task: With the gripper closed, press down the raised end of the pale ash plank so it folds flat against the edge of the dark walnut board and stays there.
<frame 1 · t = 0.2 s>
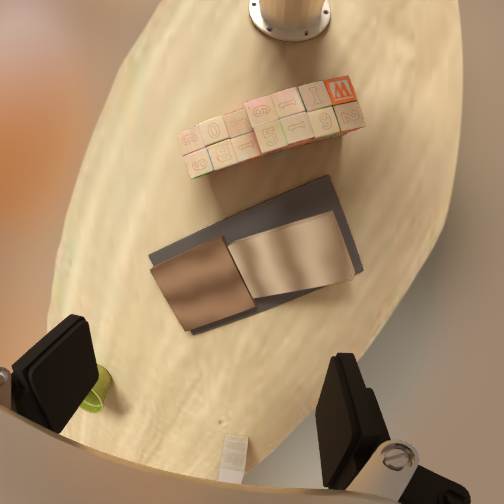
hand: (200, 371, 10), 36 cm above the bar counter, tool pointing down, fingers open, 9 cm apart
small box: (235, 443, 61), on the bar counter
laid board: (204, 283, 49), resting on underlay mat
plank: (289, 259, 42), point 5 cm above the bar counter, hinge at 25.0°
underlay mat: (254, 262, 47), on the bar counter
plant pot: (101, 373, 58), on the bar counter
stack of blocks: (268, 133, 42), on the bar counter
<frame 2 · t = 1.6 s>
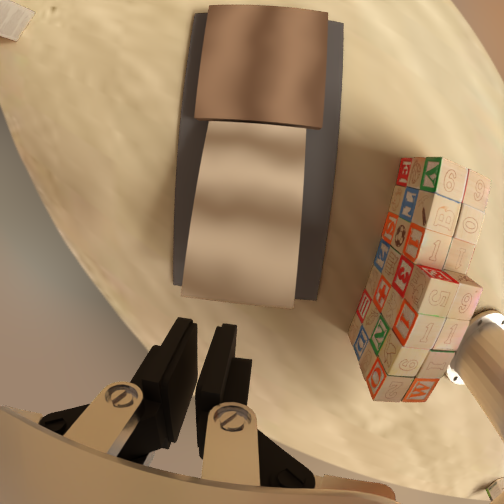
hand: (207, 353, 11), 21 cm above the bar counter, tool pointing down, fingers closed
small box: (18, 22, 25), on the bar counter
laid board: (263, 64, 26), resting on underlay mat
plank: (247, 208, 26), point 5 cm above the bar counter, hinge at 25.0°
underlay mat: (256, 147, 29), on the bar counter
stack of blocks: (398, 255, 31), on the bar counter
syrup box: (495, 482, 49), on the bar counter
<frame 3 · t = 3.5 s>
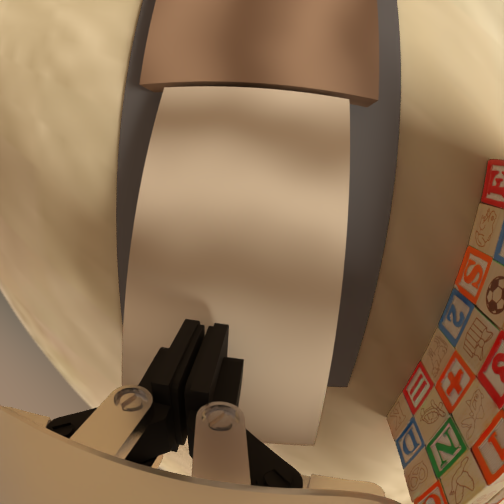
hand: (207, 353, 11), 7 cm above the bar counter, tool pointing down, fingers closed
plank: (235, 259, 13), point 4 cm above the bar counter, hinge at 19.8°, touching gripper
underlay mat: (254, 135, 16), on the bar counter
stack of blocks: (471, 310, 18), on the bar counter
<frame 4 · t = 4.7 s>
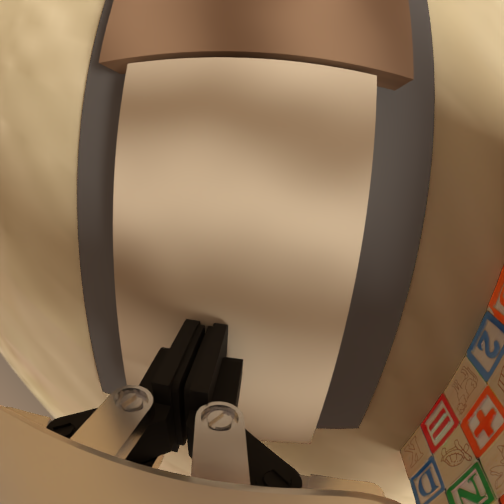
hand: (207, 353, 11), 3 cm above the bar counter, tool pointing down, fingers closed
plank: (230, 276, 12), point 2 cm above the bar counter, hinge at 1.5°, touching gripper
underlay mat: (248, 124, 12), on the bar counter
stack of blocks: (501, 334, 14), on the bar counter
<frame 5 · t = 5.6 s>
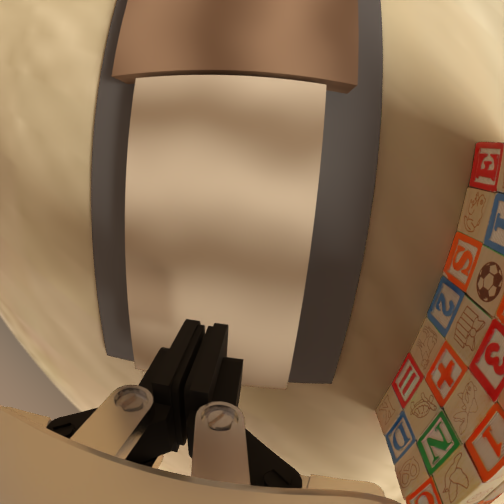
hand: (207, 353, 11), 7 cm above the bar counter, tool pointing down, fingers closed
plank: (216, 241, 15), point 2 cm above the bar counter, hinge at 1.4°
underlay mat: (229, 125, 15), on the bar counter
stack of blocks: (461, 299, 18), on the bar counter
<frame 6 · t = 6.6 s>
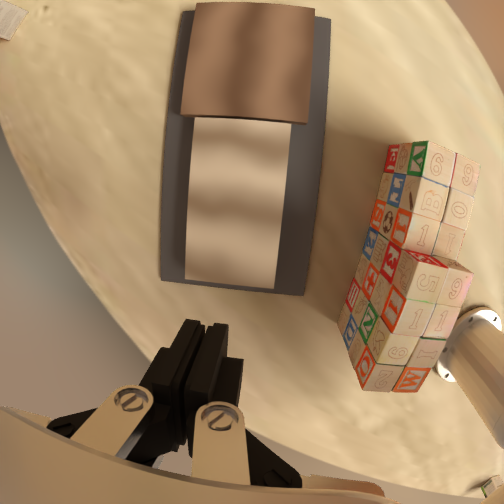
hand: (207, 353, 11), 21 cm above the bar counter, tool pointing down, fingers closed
small box: (11, 22, 24), on the bar counter
laid board: (250, 60, 26), resting on underlay mat
plank: (235, 202, 29), point 2 cm above the bar counter, hinge at 1.4°
underlay mat: (242, 143, 29), on the bar counter
stack of blocks: (388, 244, 32), on the bar counter
syrup box: (490, 480, 50), on the bar counter
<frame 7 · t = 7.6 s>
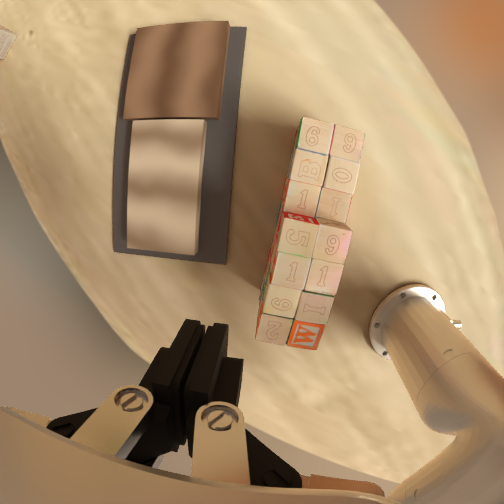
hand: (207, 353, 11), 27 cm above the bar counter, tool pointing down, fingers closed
small box: (4, 43, 31), on the bar counter
laid board: (178, 71, 32), resting on underlay mat
plank: (164, 185, 35), point 2 cm above the bar counter, hinge at 1.4°
underlay mat: (172, 138, 35), on the bar counter
stack of blocks: (302, 217, 37), on the bar counter
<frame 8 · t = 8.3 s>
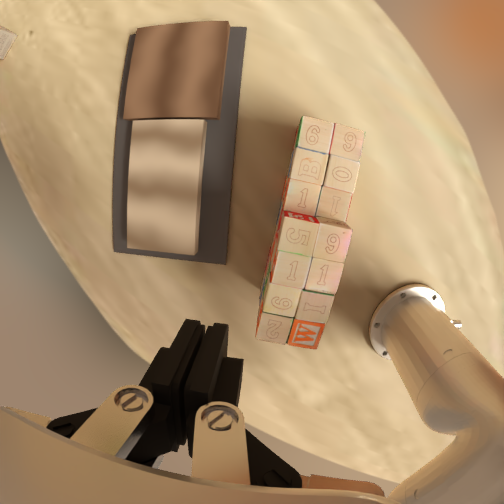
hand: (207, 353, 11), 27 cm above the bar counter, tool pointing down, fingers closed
small box: (4, 43, 31), on the bar counter
laid board: (178, 71, 32), resting on underlay mat
plank: (164, 185, 35), point 2 cm above the bar counter, hinge at 1.4°
underlay mat: (172, 138, 35), on the bar counter
stack of blocks: (302, 216, 37), on the bar counter
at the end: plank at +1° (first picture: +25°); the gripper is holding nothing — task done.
